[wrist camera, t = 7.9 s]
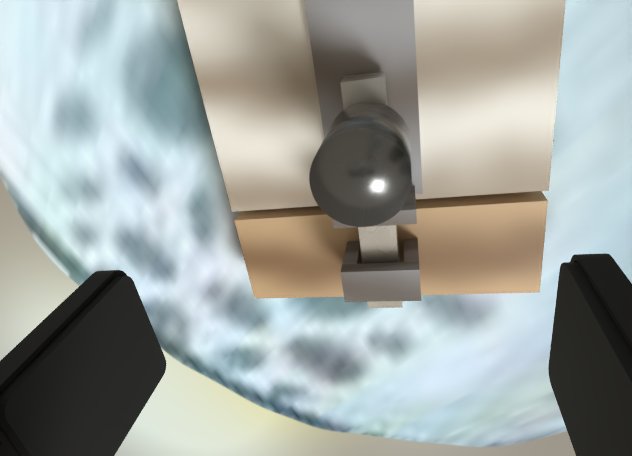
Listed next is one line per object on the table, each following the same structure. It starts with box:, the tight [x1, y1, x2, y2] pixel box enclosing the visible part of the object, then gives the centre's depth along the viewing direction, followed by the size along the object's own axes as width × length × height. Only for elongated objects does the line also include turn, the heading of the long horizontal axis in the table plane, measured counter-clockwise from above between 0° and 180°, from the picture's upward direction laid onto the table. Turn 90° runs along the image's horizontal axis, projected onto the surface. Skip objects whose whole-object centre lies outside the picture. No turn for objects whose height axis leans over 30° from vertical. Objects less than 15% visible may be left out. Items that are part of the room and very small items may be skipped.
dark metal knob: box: [309, 71, 412, 308], centre depth 22 cm, size 13×4×7 cm, turn 9°
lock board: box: [177, 0, 566, 302], centre depth 24 cm, size 22×18×6 cm
